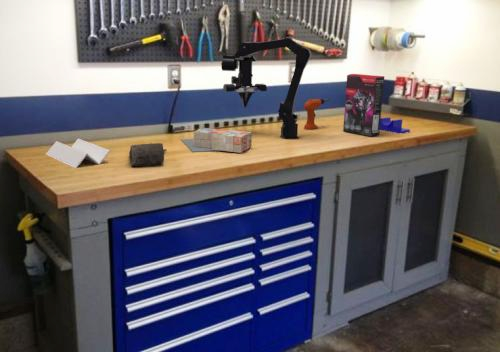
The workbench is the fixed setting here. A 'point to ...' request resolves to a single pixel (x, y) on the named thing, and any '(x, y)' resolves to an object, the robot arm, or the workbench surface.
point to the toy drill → (312, 112)
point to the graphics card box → (363, 104)
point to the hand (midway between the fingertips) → (244, 107)
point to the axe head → (146, 154)
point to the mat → (190, 145)
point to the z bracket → (77, 153)
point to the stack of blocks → (223, 139)
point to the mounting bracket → (392, 125)
